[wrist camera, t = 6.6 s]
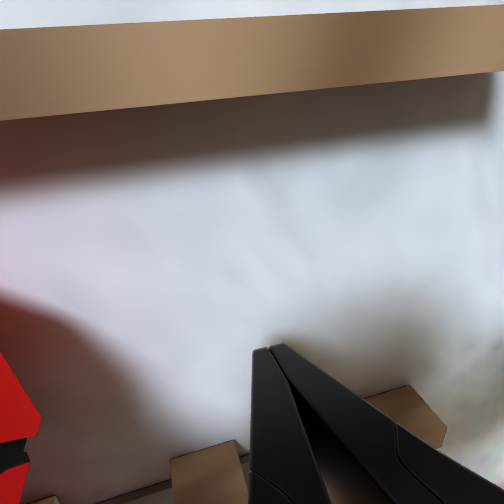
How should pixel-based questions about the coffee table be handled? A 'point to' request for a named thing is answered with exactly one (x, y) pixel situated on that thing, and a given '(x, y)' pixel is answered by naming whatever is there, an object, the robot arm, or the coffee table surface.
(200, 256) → the coffee table surface
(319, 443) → the robot arm
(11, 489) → the ball
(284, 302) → the coffee table surface
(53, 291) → the coffee table surface
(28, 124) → the coffee table surface
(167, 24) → the trap lane
